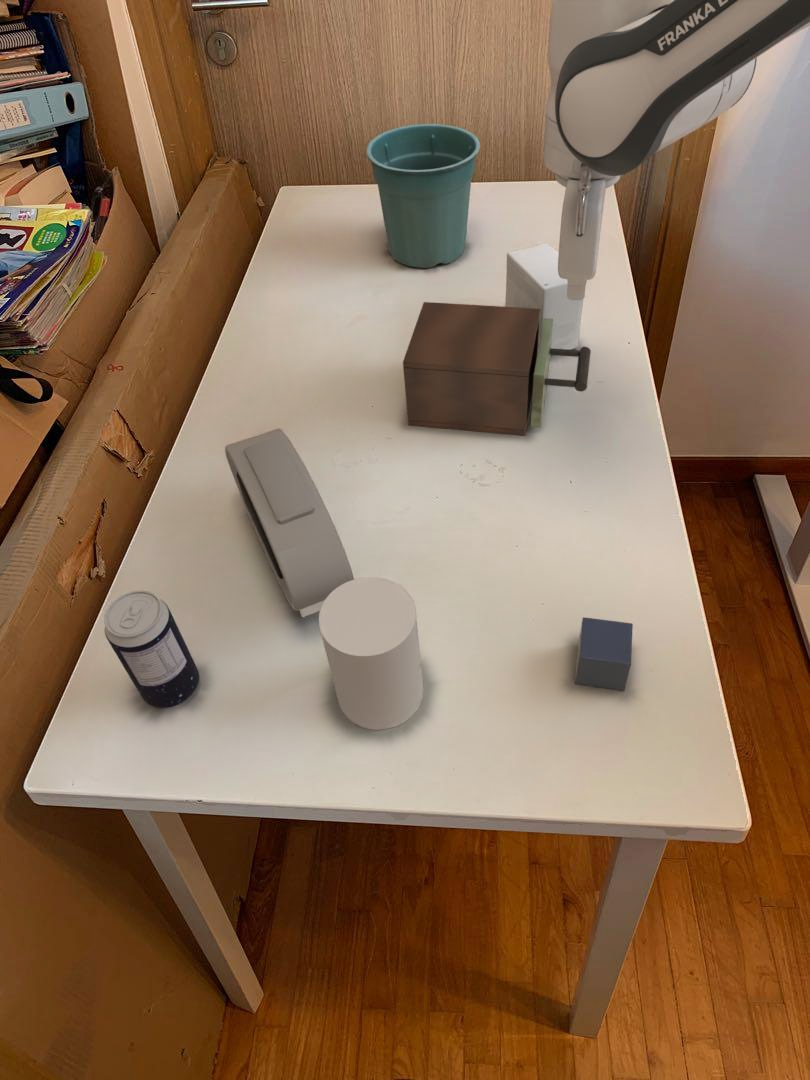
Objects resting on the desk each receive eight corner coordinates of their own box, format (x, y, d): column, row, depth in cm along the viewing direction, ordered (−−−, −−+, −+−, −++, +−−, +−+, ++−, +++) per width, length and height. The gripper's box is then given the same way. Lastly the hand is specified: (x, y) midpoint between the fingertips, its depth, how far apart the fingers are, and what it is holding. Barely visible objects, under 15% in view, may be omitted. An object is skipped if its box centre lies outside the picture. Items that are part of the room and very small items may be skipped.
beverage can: (210, 667, 80) (176, 591, 71) (187, 717, 77) (148, 645, 68) (157, 658, 81) (117, 582, 72) (132, 707, 78) (87, 634, 69)
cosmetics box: (580, 347, 110) (588, 277, 103) (537, 360, 109) (542, 290, 101) (543, 308, 117) (548, 240, 109) (503, 320, 116) (504, 252, 108)
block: (626, 650, 78) (632, 623, 75) (624, 691, 75) (631, 664, 72) (578, 644, 79) (582, 616, 76) (574, 684, 76) (579, 657, 73)
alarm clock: (238, 497, 96) (212, 412, 86) (288, 479, 97) (267, 394, 88) (304, 644, 81) (281, 562, 72) (362, 621, 83) (346, 537, 73)
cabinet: (536, 372, 107) (540, 308, 100) (525, 435, 99) (528, 371, 92) (427, 364, 110) (423, 301, 103) (408, 425, 102) (402, 361, 95)
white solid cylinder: (441, 686, 77) (436, 610, 68) (381, 746, 73) (367, 674, 64) (379, 640, 81) (367, 562, 72) (319, 694, 77) (298, 619, 68)
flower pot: (444, 213, 138) (440, 113, 126) (500, 254, 128) (502, 149, 116) (358, 244, 133) (346, 142, 121) (409, 288, 123) (402, 182, 111)
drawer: (588, 373, 105) (594, 320, 99) (581, 431, 98) (588, 378, 92) (446, 363, 109) (444, 311, 103) (430, 418, 101) (427, 366, 96)
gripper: (619, 192, 71) (603, 329, 82) (627, 101, 85) (613, 228, 95) (546, 191, 73) (539, 325, 83) (566, 101, 86) (558, 226, 96)
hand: (579, 273), depth 89 cm, fingers open, 8 cm apart
